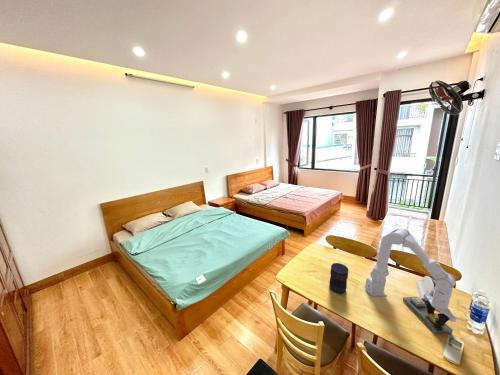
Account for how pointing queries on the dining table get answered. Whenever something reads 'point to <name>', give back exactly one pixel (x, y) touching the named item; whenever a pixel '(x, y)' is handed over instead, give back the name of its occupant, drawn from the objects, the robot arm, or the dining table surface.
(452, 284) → the robot arm
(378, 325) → the dining table surface
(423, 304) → the zinc nut
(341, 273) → the storage jar
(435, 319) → the brass nut
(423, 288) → the white black rounded piece
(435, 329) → the grey recessed tray
